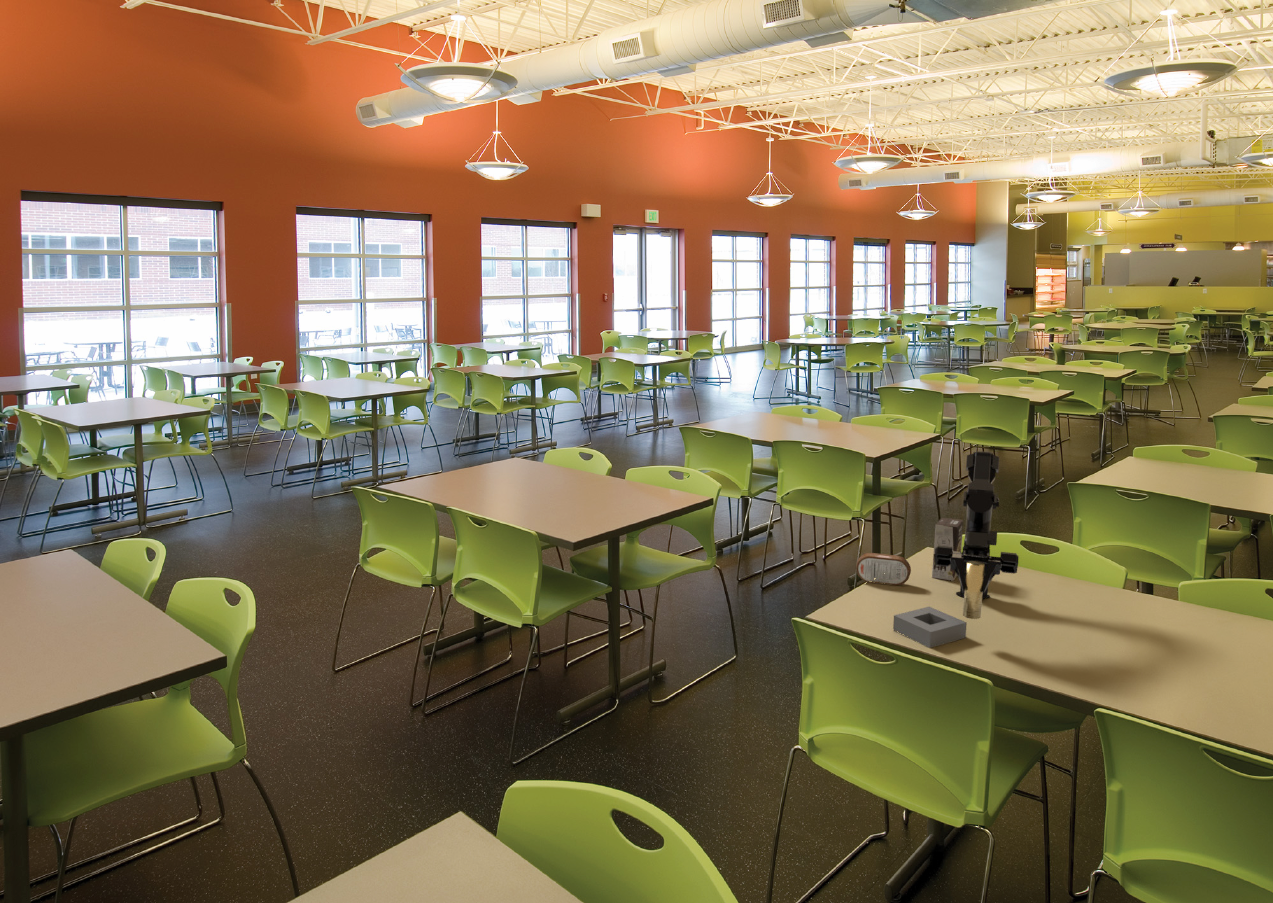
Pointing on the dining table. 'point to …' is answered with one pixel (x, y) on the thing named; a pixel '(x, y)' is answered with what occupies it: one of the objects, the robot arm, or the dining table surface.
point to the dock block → (930, 626)
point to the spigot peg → (973, 589)
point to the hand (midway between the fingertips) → (973, 591)
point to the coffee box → (947, 544)
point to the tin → (883, 568)
